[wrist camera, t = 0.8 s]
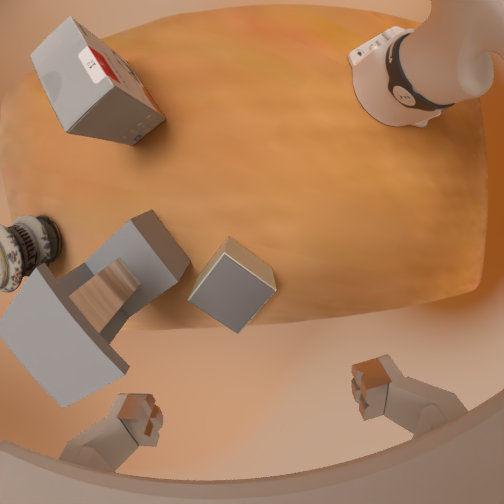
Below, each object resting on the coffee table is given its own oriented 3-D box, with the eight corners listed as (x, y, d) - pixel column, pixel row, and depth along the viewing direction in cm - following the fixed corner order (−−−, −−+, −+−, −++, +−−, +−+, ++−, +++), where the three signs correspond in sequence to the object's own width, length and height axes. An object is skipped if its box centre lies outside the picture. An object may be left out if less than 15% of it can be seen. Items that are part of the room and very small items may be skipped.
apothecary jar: (72, 225, 46) (9, 252, 29) (59, 277, 49) (5, 315, 31) (32, 200, 44) (-30, 217, 27) (22, 250, 47) (-32, 278, 30)
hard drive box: (168, 119, 41) (115, 88, 22) (132, 147, 42) (64, 138, 23) (126, 59, 38) (69, 14, 18) (94, 86, 39) (26, 57, 20)
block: (119, 256, 38) (67, 296, 24) (140, 283, 39) (98, 334, 25) (99, 275, 39) (48, 317, 25) (119, 300, 40) (76, 351, 26)
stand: (228, 235, 47) (223, 252, 37) (271, 267, 48) (277, 291, 39) (198, 276, 49) (186, 301, 39) (239, 305, 50) (237, 335, 41)
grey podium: (151, 209, 45) (36, 267, 17) (190, 261, 48) (125, 375, 19) (106, 249, 47) (-5, 328, 19) (143, 296, 50) (63, 408, 21)
